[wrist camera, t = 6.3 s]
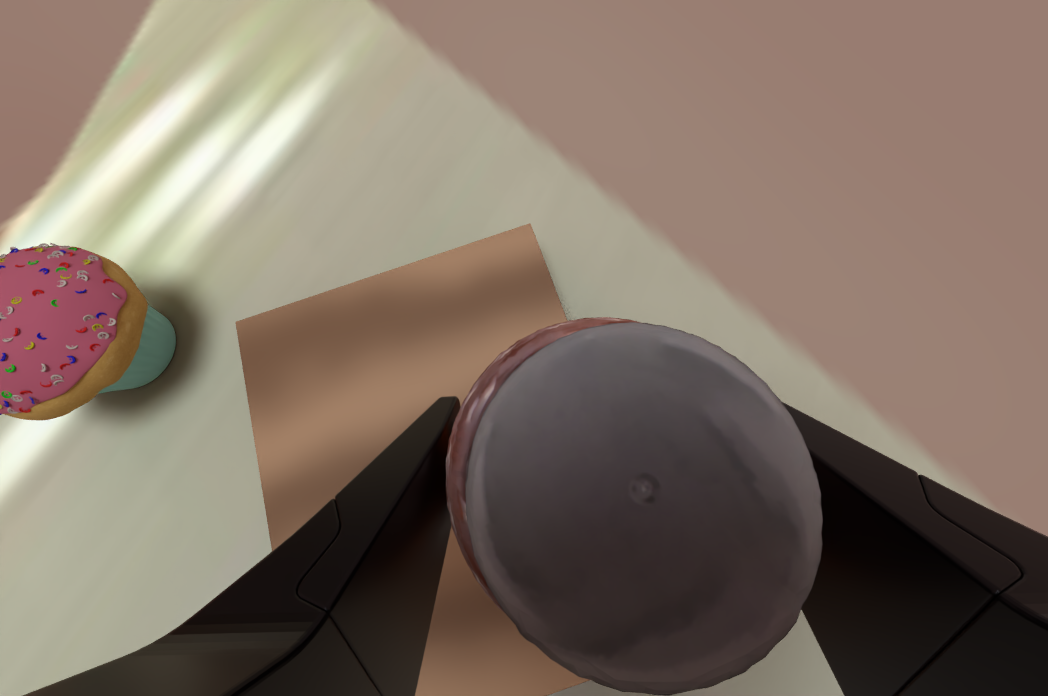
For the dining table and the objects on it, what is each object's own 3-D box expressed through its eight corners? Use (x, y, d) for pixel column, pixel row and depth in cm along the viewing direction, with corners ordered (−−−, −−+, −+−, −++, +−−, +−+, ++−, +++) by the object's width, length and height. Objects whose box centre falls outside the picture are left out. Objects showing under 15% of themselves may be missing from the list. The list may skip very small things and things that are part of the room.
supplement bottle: (563, 351, 16) (600, 157, 5) (683, 447, 15) (1048, 453, 4) (466, 465, 15) (271, 514, 4) (586, 576, 14) (725, 1015, 3)
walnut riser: (668, 612, 19) (690, 644, 16) (346, 726, 18) (308, 780, 16) (532, 250, 23) (530, 223, 20) (274, 336, 23) (235, 321, 20)
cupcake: (66, 311, 24) (-375, 192, 13) (197, 263, 25) (-118, 102, 13) (78, 444, 22) (-433, 449, 11) (221, 391, 23) (-126, 338, 11)
